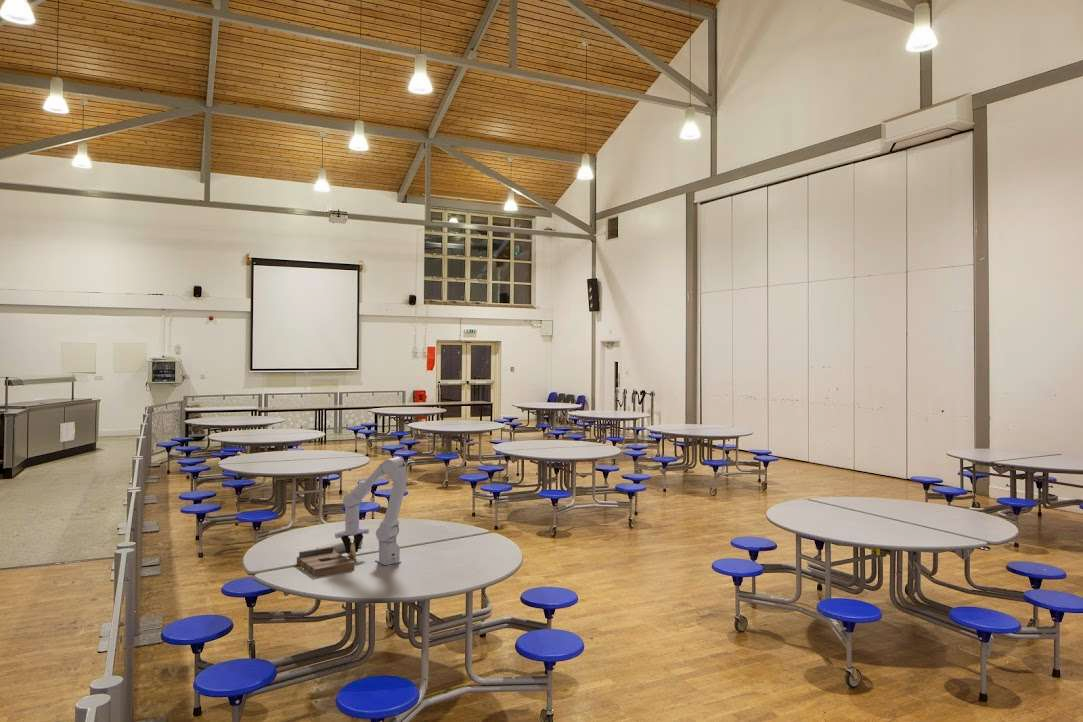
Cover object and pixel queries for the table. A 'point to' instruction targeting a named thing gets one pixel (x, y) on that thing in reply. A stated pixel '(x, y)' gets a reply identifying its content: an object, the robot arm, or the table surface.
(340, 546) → the tube
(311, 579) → the table surface
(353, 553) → the brass cylinder
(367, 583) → the table surface
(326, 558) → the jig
